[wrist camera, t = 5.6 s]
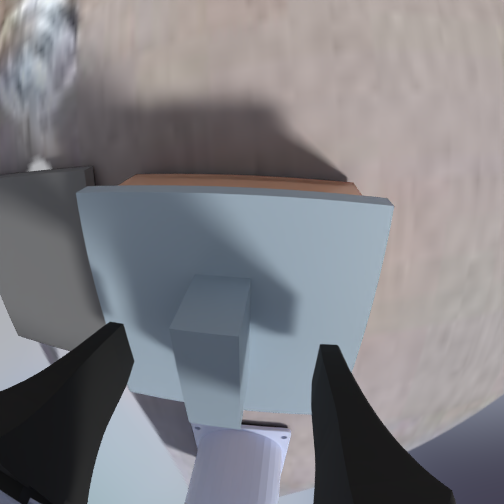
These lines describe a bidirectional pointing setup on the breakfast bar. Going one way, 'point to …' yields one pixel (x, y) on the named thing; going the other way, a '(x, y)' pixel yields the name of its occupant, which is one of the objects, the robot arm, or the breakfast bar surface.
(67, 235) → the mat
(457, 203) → the breakfast bar surface
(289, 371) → the lid
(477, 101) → the breakfast bar surface
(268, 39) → the breakfast bar surface
